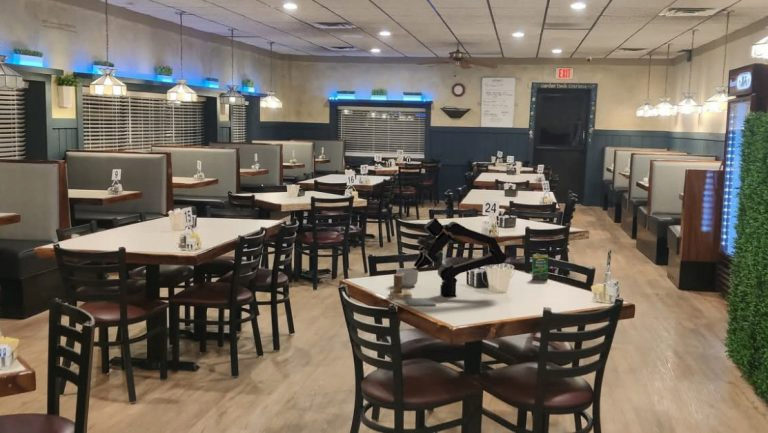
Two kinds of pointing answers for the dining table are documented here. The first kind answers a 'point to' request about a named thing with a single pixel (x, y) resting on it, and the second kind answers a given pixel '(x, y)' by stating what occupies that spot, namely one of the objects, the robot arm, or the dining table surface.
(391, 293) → the oak holder
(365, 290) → the dining table surface
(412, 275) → the teacup
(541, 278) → the coffee box
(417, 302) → the grey mat
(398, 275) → the walnut block
